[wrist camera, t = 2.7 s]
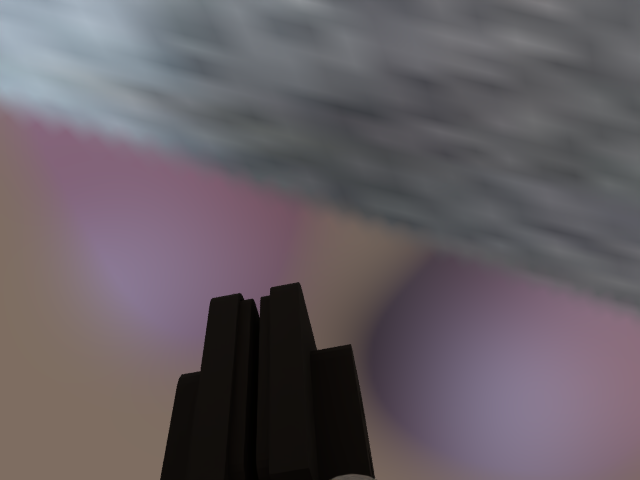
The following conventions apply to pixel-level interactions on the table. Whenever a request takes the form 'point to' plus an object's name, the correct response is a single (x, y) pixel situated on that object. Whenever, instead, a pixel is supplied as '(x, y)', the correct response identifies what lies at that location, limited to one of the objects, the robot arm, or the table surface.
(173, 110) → the table surface
